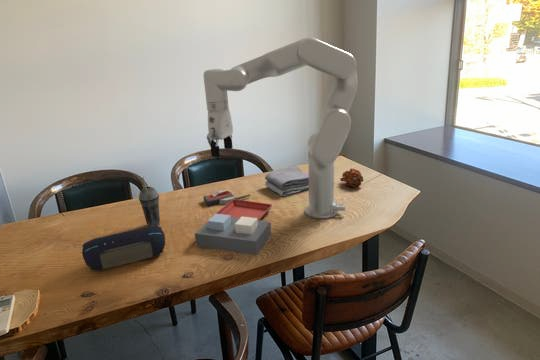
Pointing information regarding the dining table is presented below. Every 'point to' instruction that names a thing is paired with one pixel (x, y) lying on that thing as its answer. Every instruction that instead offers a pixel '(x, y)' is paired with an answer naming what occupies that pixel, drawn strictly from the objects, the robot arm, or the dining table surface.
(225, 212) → the plant saucer
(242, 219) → the white key
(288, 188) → the towel
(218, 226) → the blue key
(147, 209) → the beverage cup
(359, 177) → the pine cone
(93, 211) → the dining table surface
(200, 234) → the console
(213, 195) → the walkie-talkie
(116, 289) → the dining table surface
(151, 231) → the portable speaker
